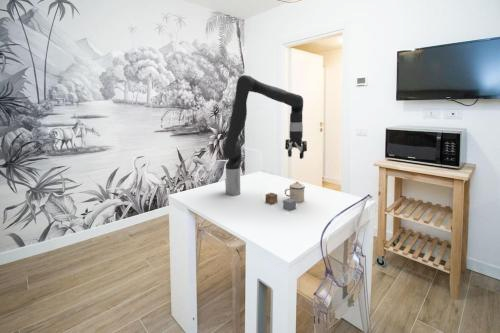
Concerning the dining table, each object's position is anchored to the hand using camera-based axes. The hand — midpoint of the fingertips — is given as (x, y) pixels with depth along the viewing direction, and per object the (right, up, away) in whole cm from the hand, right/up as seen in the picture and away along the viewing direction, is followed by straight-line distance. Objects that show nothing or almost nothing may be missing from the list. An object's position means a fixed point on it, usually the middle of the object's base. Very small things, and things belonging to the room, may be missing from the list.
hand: (295, 157), depth 161 cm
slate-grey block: (-5, -29, -8) cm, 30 cm away
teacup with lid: (0, -26, +6) cm, 27 cm away
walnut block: (-14, -27, +2) cm, 30 cm away
